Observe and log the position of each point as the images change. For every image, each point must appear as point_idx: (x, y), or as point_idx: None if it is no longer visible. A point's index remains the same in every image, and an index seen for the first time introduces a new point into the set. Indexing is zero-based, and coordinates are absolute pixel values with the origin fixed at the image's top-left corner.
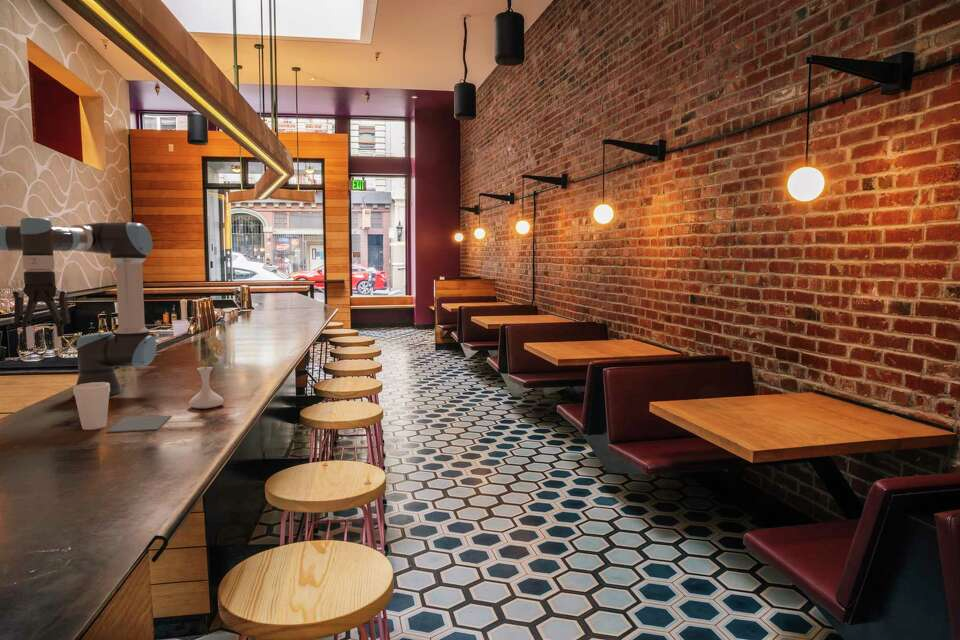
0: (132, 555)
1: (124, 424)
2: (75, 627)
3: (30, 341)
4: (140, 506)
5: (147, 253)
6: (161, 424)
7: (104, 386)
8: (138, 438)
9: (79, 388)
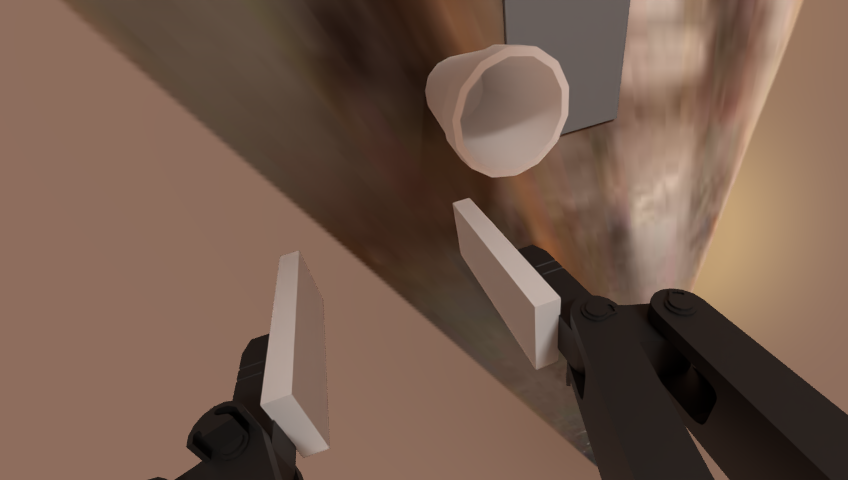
0: None
1: None
2: None
3: (320, 326)
4: None
5: None
6: (619, 75)
7: (561, 128)
8: (587, 181)
9: (494, 174)
